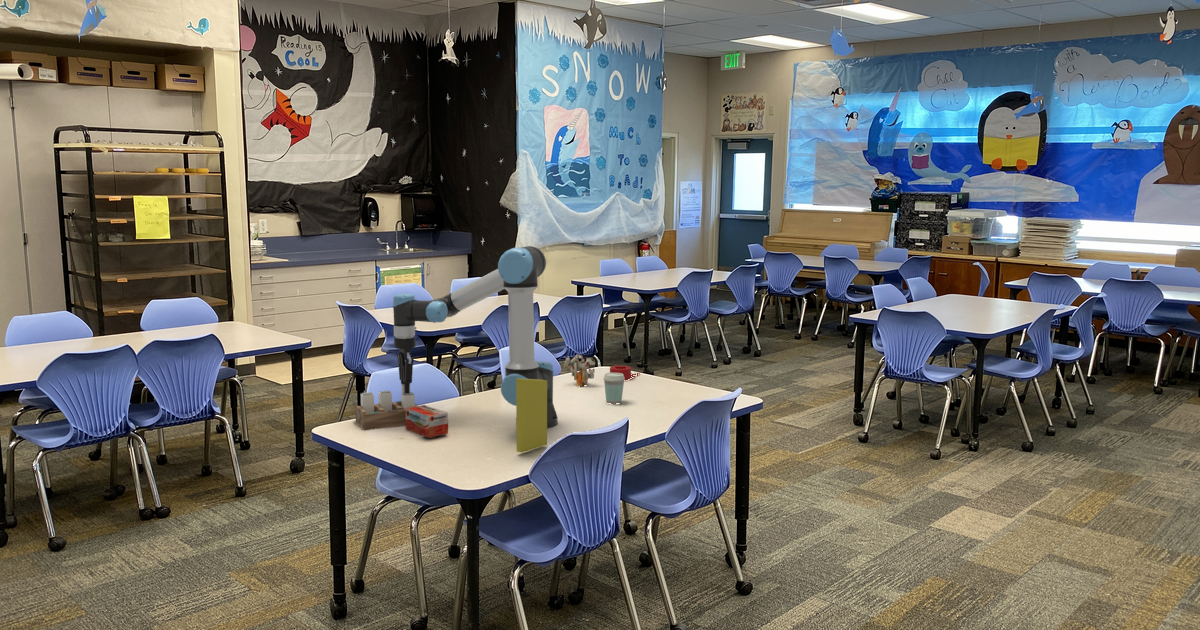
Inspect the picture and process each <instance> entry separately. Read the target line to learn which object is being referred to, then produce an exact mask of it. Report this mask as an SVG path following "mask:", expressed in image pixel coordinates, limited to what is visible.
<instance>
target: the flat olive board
mask: <svg viewBox="0 0 1200 630" xmlns="http://www.w3.org/2000/svg"><path fill="white" fill-rule="evenodd" d="M515 407H516V411H515V412H516V414H515V415H516V416H515V425H516V426H515V427H516V452H518V453H520V454H522V453H525V452H529V451H531V450H534V449H537V448H541V447H543V446H547V445H548V428H547V381H546V380H537V379H519V378H516V406H515Z"/></svg>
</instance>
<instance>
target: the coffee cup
mask: <svg viewBox="0 0 1200 630" xmlns="http://www.w3.org/2000/svg"><path fill="white" fill-rule="evenodd" d="M603 380H604V392H605V402H607V403H611V404H616V403H621V404H622V399H623V391H624V384H625V381H624V380H625V377H624V374H622V373H610V372H607V373H604V376H603ZM607 403H606V404H607Z"/></svg>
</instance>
